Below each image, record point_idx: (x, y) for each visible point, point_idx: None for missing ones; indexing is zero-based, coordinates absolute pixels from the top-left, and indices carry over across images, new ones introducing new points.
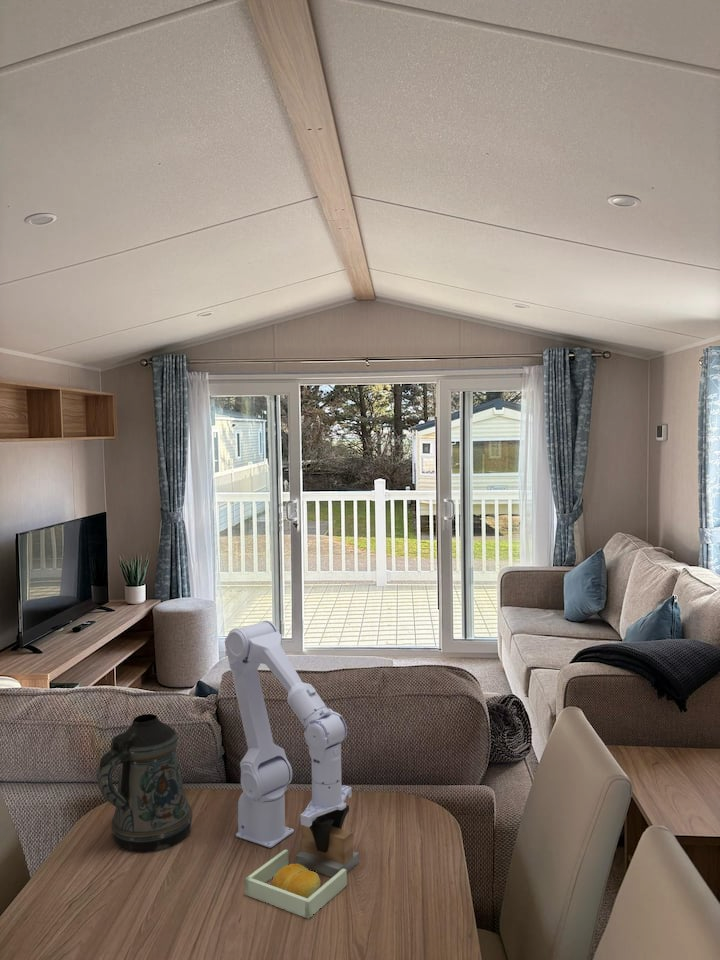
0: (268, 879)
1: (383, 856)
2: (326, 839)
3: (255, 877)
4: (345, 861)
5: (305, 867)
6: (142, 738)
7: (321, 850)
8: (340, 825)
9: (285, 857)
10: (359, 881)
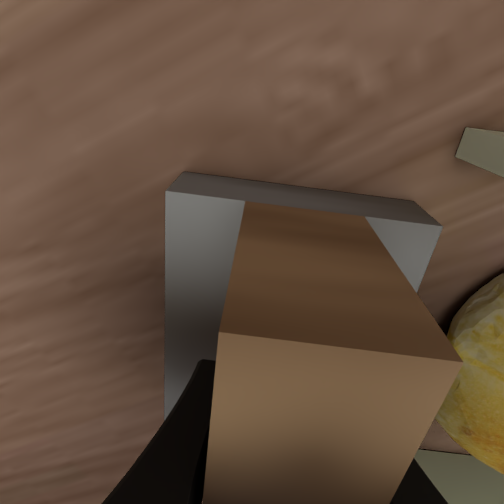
0: None
1: (15, 40)
2: (436, 488)
3: None
4: (354, 222)
5: (481, 401)
6: None
7: None
8: (165, 500)
9: None
10: (395, 61)
